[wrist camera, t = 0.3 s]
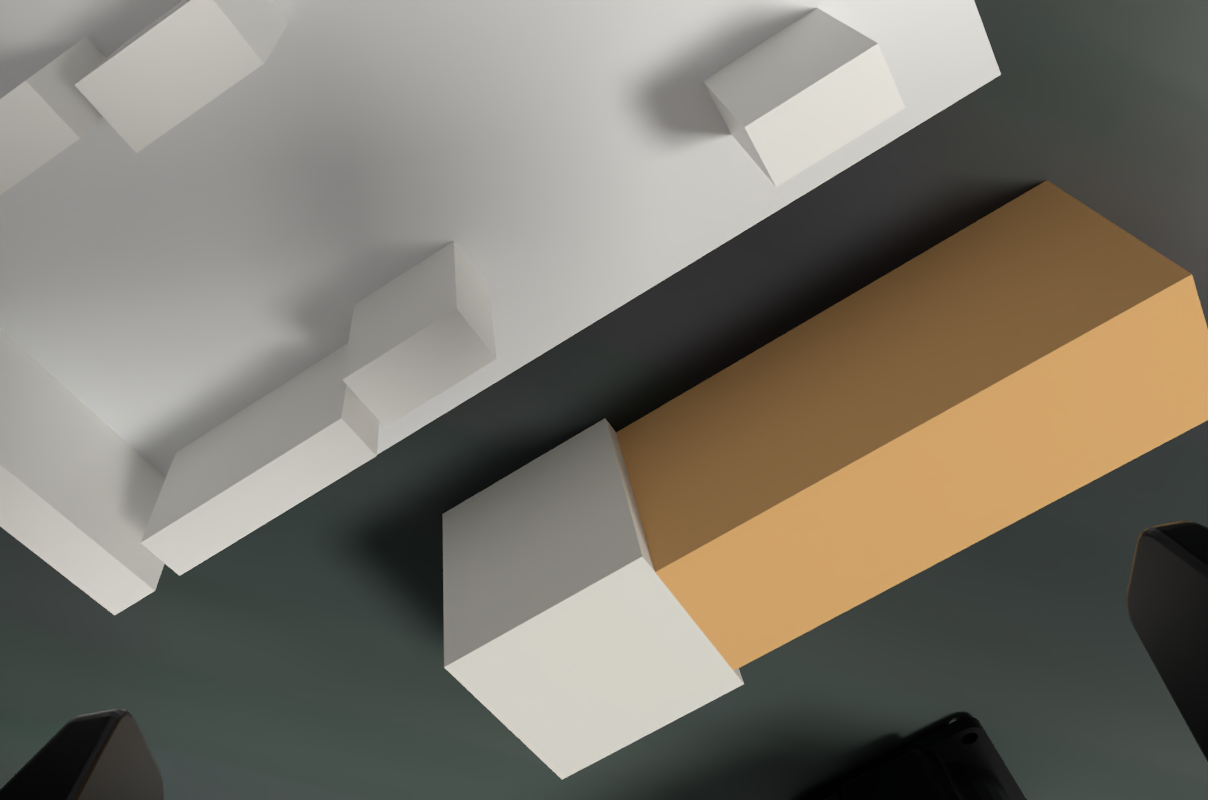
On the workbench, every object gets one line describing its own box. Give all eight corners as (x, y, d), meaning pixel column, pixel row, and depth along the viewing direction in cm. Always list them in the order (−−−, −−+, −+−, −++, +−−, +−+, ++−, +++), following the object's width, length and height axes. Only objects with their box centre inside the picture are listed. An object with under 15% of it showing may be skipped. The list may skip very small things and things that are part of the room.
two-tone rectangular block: (1094, 312, 24) (1235, 425, 20) (542, 621, 27) (562, 779, 22) (1039, 161, 22) (1186, 251, 18) (442, 513, 24) (444, 667, 20)
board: (977, 62, 20) (1085, 117, 17) (199, 540, 24) (159, 666, 20) (733, -587, 15) (821, -697, 11) (-240, 155, 18) (-395, 240, 15)
